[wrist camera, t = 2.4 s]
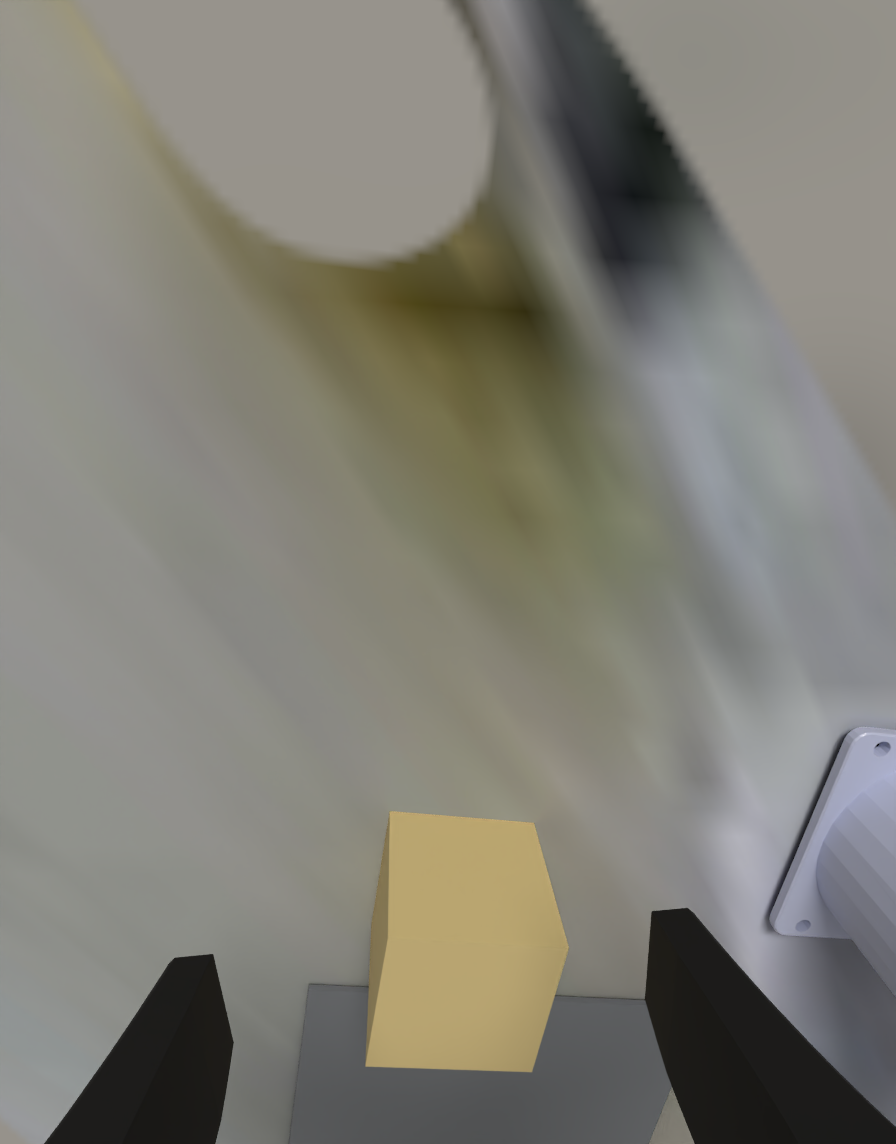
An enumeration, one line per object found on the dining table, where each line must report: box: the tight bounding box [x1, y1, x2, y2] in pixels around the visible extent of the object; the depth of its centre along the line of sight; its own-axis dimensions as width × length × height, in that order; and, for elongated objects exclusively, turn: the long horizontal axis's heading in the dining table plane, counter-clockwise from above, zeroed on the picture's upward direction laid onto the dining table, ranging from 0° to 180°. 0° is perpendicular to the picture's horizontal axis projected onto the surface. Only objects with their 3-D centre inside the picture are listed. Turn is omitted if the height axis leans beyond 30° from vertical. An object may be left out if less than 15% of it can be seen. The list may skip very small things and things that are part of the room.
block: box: [365, 811, 569, 1072], centre depth 19 cm, size 4×4×4 cm
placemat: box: [289, 984, 672, 1144], centre depth 25 cm, size 14×12×1 cm
